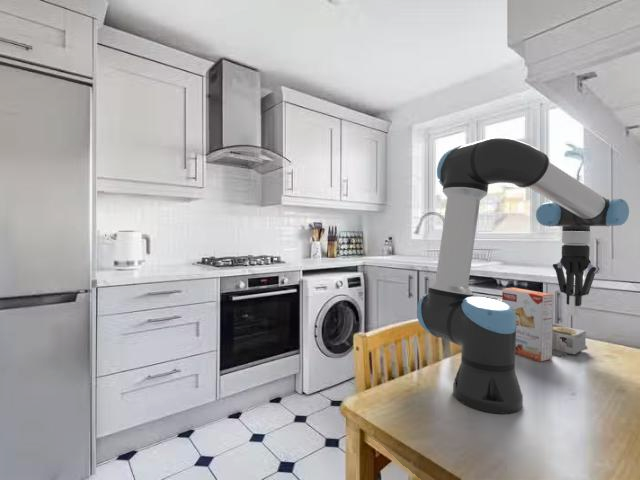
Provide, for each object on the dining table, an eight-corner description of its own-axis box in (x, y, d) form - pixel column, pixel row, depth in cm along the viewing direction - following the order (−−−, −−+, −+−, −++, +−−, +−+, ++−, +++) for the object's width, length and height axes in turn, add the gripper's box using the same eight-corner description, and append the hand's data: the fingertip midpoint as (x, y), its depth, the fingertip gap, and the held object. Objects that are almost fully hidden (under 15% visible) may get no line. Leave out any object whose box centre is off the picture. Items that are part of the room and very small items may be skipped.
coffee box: (585, 349, 119) (534, 337, 132) (586, 330, 118) (534, 320, 132) (574, 355, 114) (522, 342, 127) (574, 335, 113) (522, 324, 127)
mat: (559, 356, 113) (559, 355, 113) (516, 344, 126) (516, 342, 126) (586, 347, 122) (586, 346, 122) (544, 337, 135) (544, 335, 135)
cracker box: (500, 348, 121) (501, 287, 120) (511, 346, 124) (513, 286, 123) (540, 362, 108) (542, 295, 108) (552, 359, 111) (554, 293, 110)
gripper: (604, 245, 113) (602, 318, 114) (560, 243, 125) (558, 310, 125) (593, 245, 110) (590, 320, 110) (548, 243, 121) (546, 312, 122)
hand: (573, 315), depth 118 cm, fingers closed
